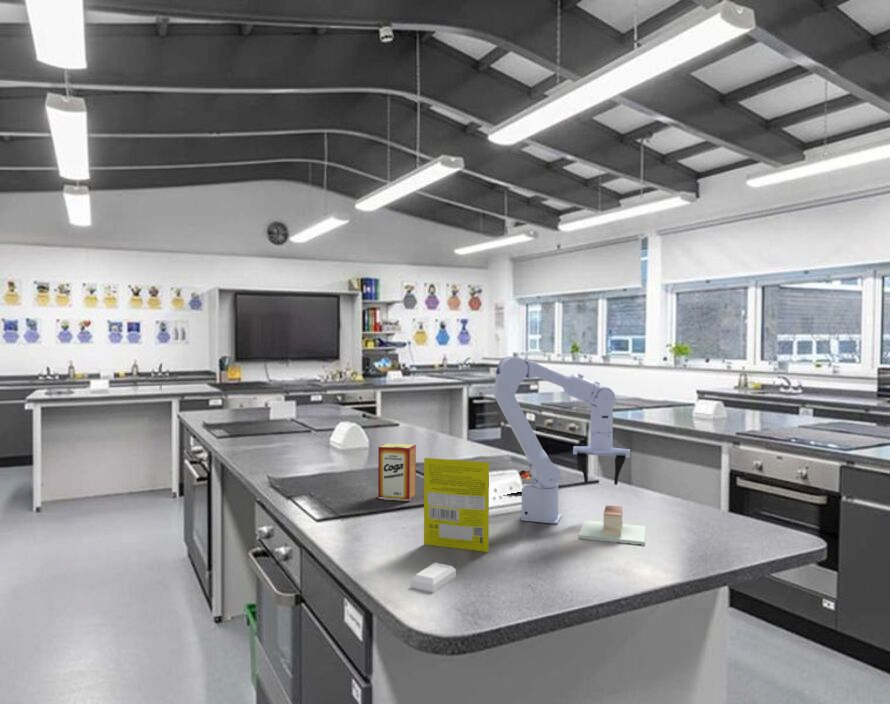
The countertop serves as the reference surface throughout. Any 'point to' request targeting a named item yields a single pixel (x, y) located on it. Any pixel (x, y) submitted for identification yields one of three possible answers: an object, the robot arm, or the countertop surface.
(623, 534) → the mat
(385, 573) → the countertop surface
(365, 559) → the countertop surface
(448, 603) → the countertop surface
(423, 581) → the soap bar
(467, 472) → the food package
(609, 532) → the maple block
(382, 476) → the baking soda box
